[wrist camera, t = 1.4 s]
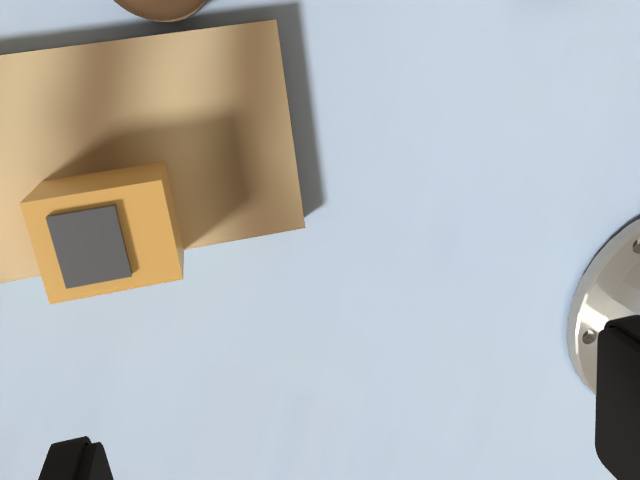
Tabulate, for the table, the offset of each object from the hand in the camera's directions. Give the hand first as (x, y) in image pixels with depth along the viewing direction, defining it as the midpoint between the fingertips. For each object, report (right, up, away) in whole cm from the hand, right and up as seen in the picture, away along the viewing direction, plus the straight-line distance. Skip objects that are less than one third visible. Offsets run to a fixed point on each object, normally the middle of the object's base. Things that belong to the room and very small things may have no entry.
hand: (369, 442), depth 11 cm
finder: (-10, +5, +15) cm, 18 cm away
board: (-13, +7, +15) cm, 21 cm away
